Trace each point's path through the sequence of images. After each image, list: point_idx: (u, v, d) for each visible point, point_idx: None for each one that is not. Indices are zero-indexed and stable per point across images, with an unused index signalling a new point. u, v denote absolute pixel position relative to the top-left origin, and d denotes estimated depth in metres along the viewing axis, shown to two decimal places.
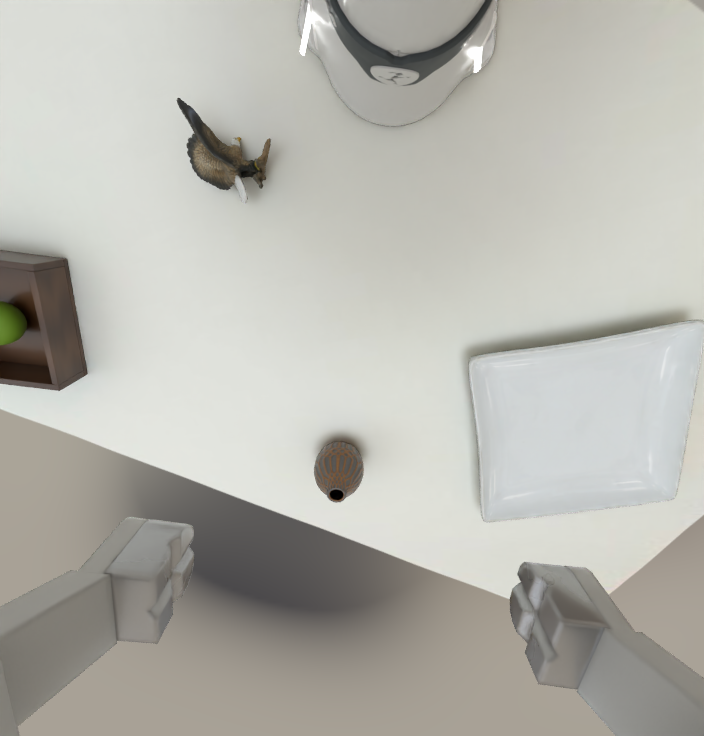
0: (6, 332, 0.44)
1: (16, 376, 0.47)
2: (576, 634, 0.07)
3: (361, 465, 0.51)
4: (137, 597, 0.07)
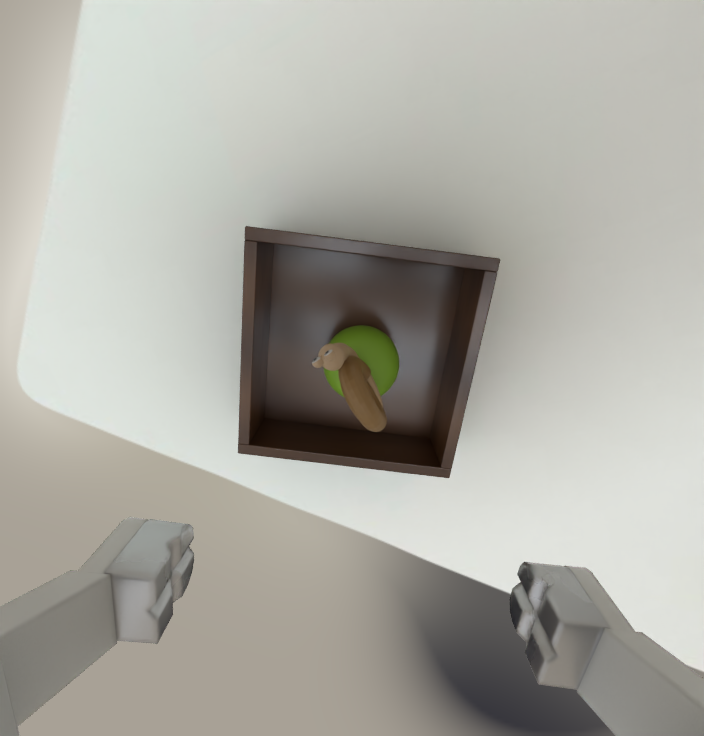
0: (392, 379, 0.25)
1: (370, 453, 0.28)
2: (576, 634, 0.07)
3: None
4: (137, 597, 0.07)
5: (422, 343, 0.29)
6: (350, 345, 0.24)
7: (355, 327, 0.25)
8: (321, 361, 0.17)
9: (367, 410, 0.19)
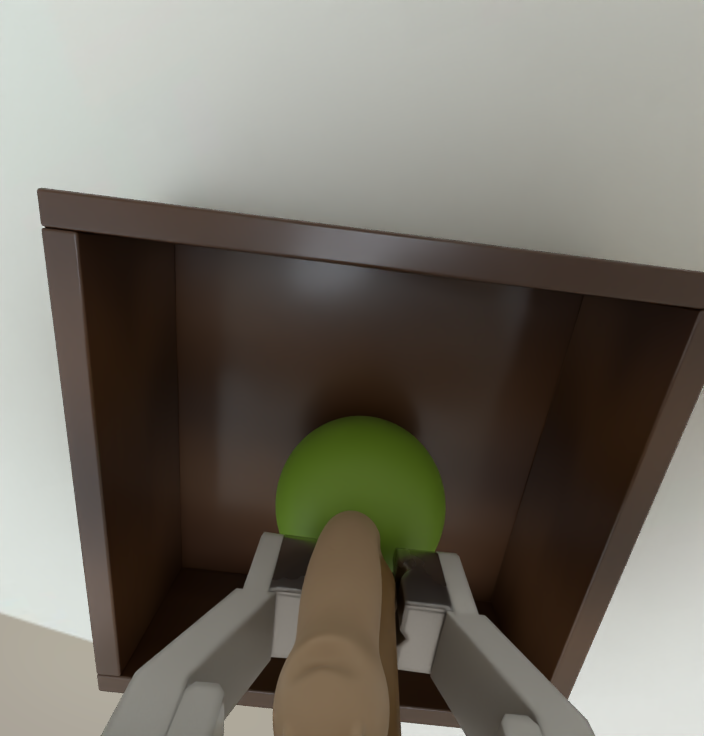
0: None
1: None
2: (420, 617, 0.07)
3: None
4: (297, 614, 0.07)
5: (485, 439, 0.14)
6: (364, 483, 0.10)
7: (385, 431, 0.11)
8: None
9: None
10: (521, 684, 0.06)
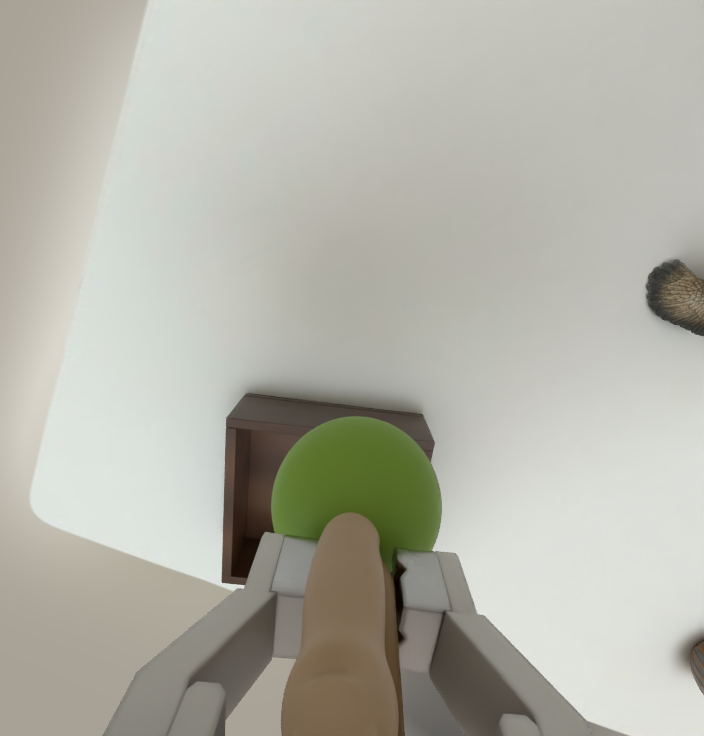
0: None
1: None
2: (419, 617, 0.07)
3: None
4: (298, 615, 0.07)
5: None
6: (362, 484, 0.10)
7: (382, 432, 0.11)
8: None
9: None
10: (520, 684, 0.06)
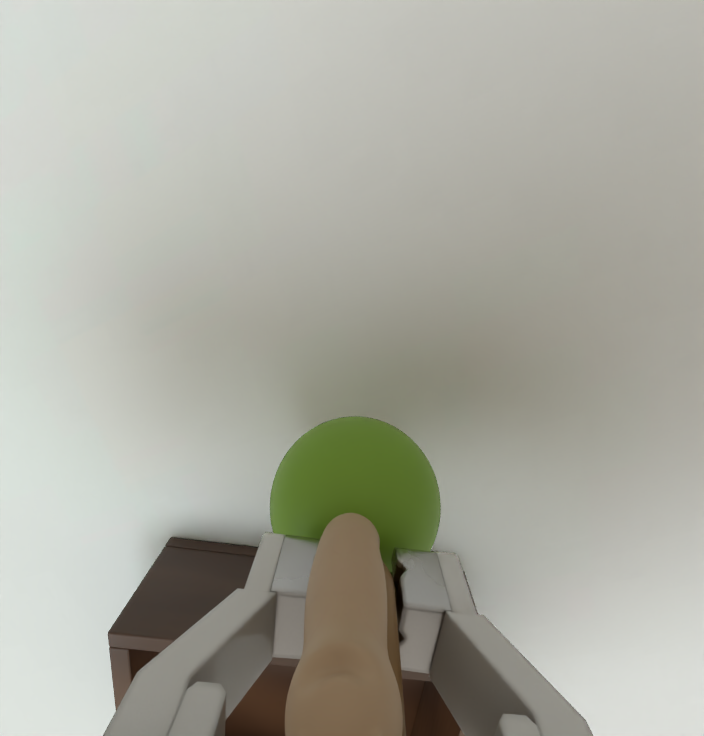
0: None
1: None
2: (419, 617, 0.07)
3: None
4: (298, 615, 0.07)
5: None
6: (361, 484, 0.10)
7: (381, 432, 0.11)
8: None
9: None
10: (519, 684, 0.06)
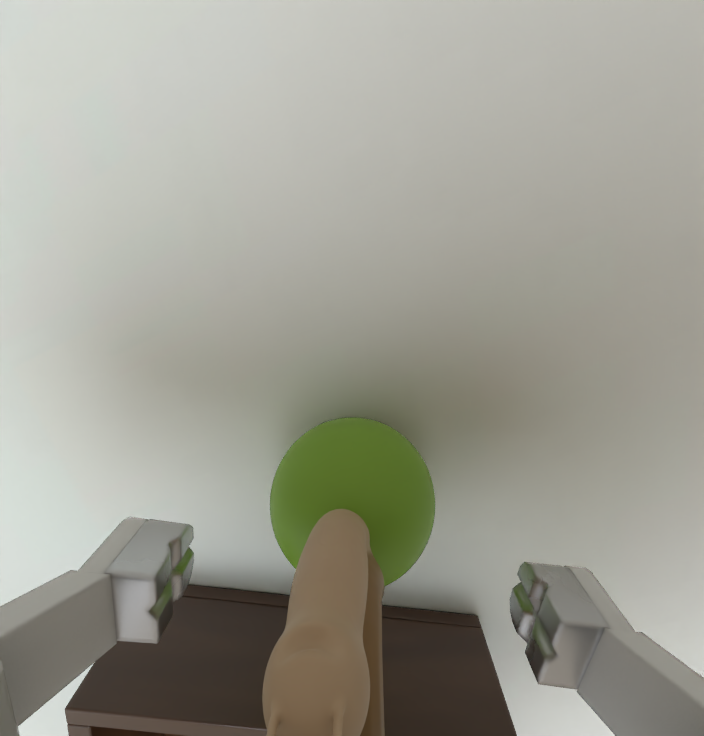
0: (404, 572, 0.11)
1: None
2: (576, 634, 0.07)
3: None
4: (137, 597, 0.07)
5: None
6: (355, 483, 0.10)
7: (377, 433, 0.11)
8: None
9: None
10: None
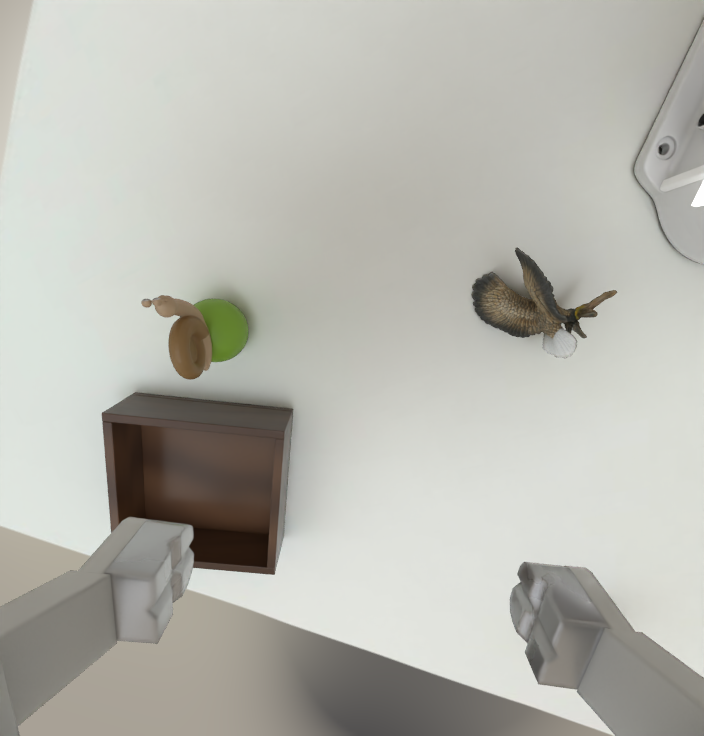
0: (231, 352, 0.31)
1: (217, 556, 0.37)
2: (576, 634, 0.07)
3: None
4: (137, 597, 0.07)
5: (260, 468, 0.38)
6: (206, 311, 0.29)
7: (220, 300, 0.31)
8: (148, 303, 0.22)
9: (178, 357, 0.25)
10: None
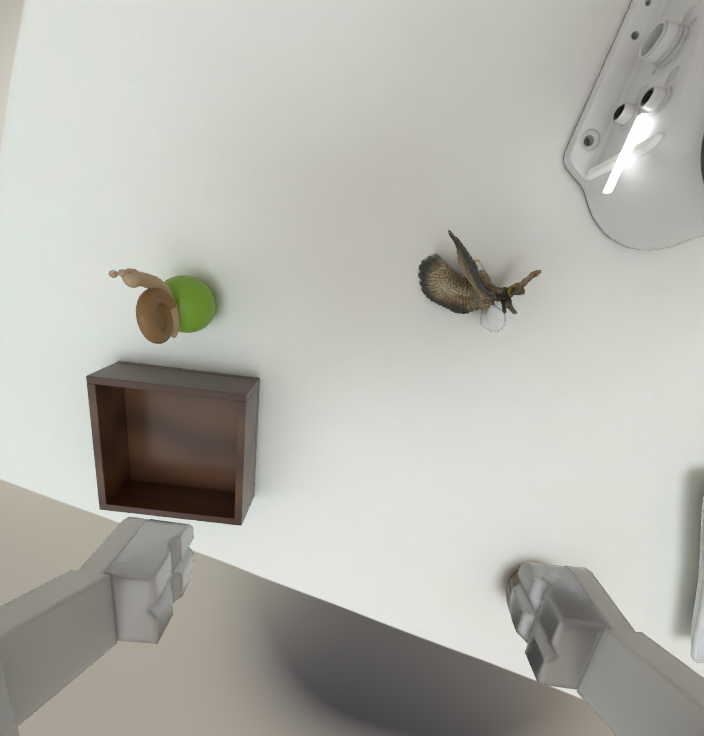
0: (198, 323, 0.35)
1: (191, 508, 0.41)
2: (576, 634, 0.07)
3: None
4: (137, 597, 0.07)
5: (230, 432, 0.42)
6: (175, 285, 0.33)
7: (189, 277, 0.35)
8: (114, 273, 0.26)
9: (144, 322, 0.29)
10: None
